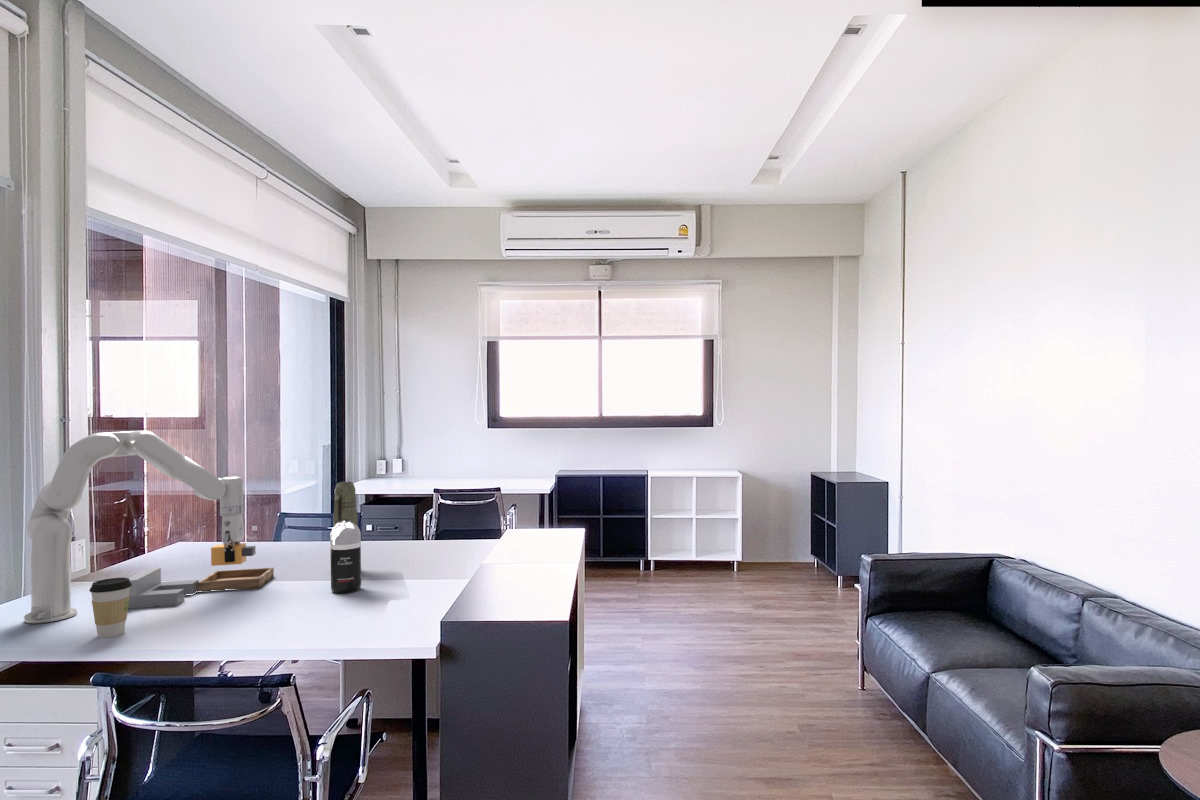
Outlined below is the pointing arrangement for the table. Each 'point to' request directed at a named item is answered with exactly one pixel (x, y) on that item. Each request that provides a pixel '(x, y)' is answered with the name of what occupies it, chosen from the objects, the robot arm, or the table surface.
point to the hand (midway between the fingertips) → (232, 559)
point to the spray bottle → (345, 557)
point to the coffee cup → (110, 605)
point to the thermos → (344, 503)
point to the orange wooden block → (240, 554)
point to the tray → (236, 579)
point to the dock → (157, 589)
